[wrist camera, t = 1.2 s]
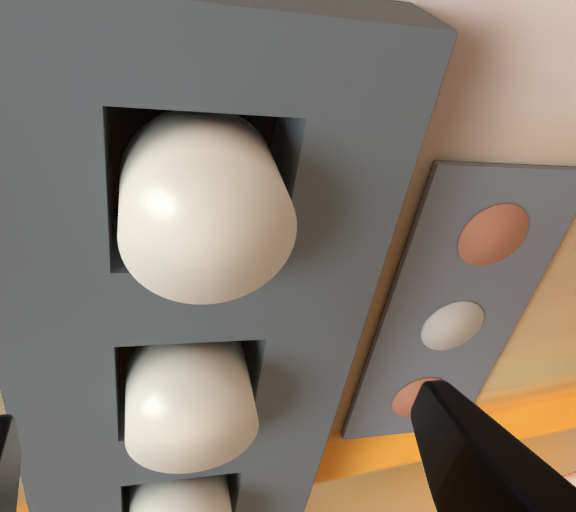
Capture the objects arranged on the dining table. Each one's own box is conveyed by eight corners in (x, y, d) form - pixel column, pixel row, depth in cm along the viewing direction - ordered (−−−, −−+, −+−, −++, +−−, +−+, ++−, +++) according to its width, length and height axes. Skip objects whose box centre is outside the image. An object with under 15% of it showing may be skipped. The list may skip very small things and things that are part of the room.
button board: (281, 492, 31) (293, 546, 29) (53, 522, 28) (46, 584, 25) (410, 2, 16) (458, 31, 13) (-56, -57, 13) (-98, -33, 10)
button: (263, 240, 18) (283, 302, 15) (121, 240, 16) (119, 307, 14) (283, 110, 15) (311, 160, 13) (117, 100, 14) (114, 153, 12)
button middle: (239, 400, 22) (251, 466, 20) (127, 409, 21) (125, 480, 19) (251, 321, 20) (266, 387, 17) (124, 327, 18) (122, 397, 16)
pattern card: (457, 422, 30) (461, 428, 30) (341, 434, 29) (343, 441, 28) (594, 167, 21) (601, 172, 21) (434, 161, 19) (439, 166, 19)
